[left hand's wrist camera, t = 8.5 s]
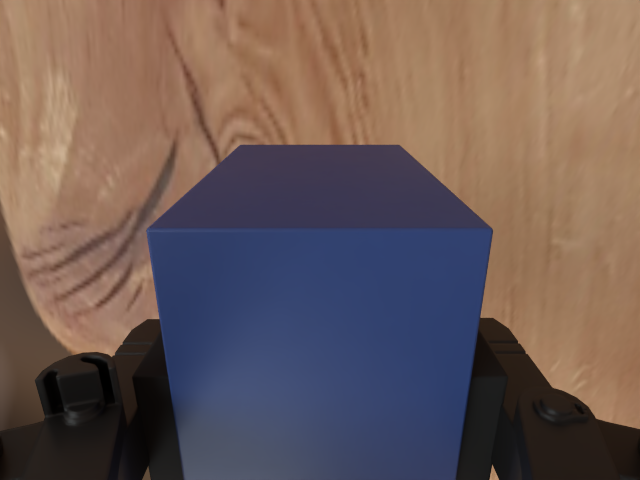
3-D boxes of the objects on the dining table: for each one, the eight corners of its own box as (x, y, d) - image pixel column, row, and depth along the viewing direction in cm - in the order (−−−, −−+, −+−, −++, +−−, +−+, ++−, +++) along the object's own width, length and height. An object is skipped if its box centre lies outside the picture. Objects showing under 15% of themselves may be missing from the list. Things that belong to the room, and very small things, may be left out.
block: (253, 356, 18) (198, 587, 10) (239, 144, 15) (143, 229, 7) (386, 356, 18) (441, 588, 10) (400, 144, 15) (494, 228, 7)
